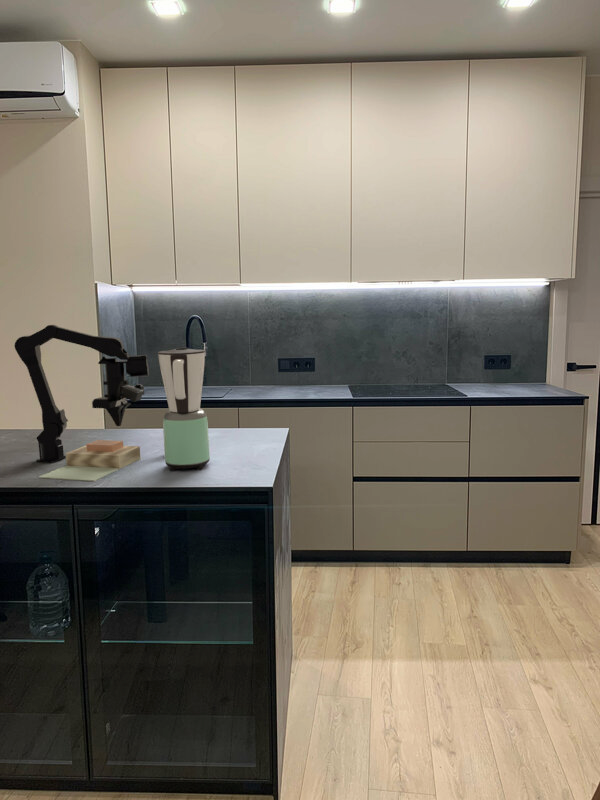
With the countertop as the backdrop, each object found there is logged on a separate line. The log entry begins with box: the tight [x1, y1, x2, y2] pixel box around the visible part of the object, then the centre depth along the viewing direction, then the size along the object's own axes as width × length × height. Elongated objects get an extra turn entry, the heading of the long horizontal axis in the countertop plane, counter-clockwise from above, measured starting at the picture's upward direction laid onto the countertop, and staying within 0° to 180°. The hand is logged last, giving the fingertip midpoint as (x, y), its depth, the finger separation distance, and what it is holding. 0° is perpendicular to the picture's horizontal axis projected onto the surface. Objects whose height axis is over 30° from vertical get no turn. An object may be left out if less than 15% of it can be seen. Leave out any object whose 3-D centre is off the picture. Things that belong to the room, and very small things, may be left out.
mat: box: [38, 465, 120, 482], centre depth 173 cm, size 18×12×1 cm, turn 75°
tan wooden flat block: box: [65, 445, 141, 470], centre depth 184 cm, size 18×12×4 cm, turn 75°
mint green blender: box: [157, 347, 211, 472], centre depth 174 cm, size 19×13×35 cm
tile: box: [85, 439, 124, 452], centre depth 185 cm, size 9×6×2 cm, turn 75°
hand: (118, 425), depth 192 cm, fingers closed
